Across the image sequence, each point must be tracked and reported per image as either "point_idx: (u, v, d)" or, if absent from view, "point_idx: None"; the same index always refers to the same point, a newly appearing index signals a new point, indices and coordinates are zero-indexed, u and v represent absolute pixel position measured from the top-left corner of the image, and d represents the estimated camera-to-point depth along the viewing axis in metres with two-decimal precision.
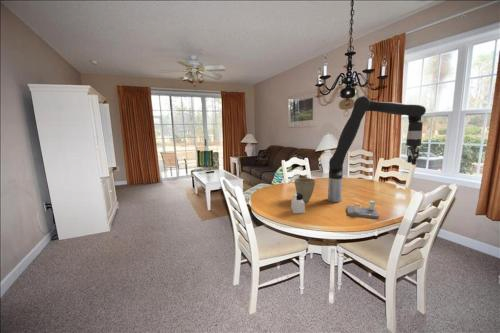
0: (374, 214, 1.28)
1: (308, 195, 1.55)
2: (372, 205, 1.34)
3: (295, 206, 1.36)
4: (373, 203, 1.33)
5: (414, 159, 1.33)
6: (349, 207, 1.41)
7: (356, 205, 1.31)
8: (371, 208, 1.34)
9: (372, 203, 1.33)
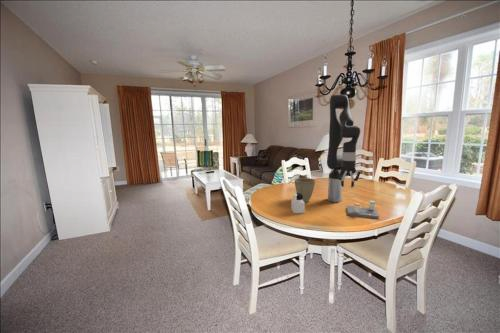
0: (374, 214, 1.28)
1: (308, 195, 1.55)
2: (372, 205, 1.34)
3: (295, 206, 1.36)
4: (373, 203, 1.33)
5: None
6: (349, 207, 1.41)
7: (356, 205, 1.31)
8: (371, 208, 1.34)
9: (372, 203, 1.33)
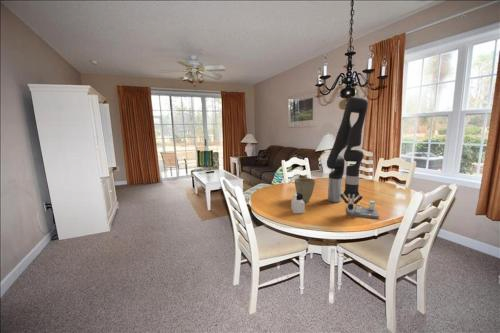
0: (374, 214, 1.28)
1: (308, 195, 1.55)
2: (372, 205, 1.34)
3: (295, 206, 1.36)
4: (373, 203, 1.33)
5: None
6: None
7: (357, 205, 1.30)
8: (371, 208, 1.34)
9: (372, 203, 1.33)
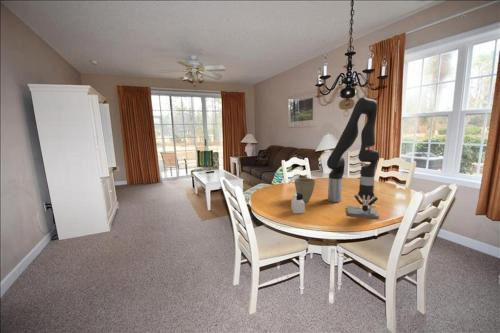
0: (374, 214, 1.28)
1: (308, 195, 1.55)
2: None
3: (295, 206, 1.36)
4: (373, 203, 1.33)
5: (367, 206, 1.29)
6: (349, 207, 1.41)
7: (372, 207, 1.27)
8: None
9: None
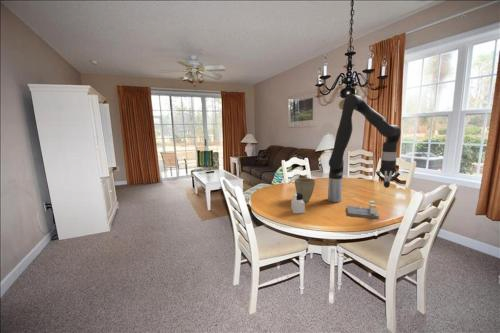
0: (374, 214, 1.28)
1: (308, 195, 1.55)
2: None
3: (295, 206, 1.36)
4: (373, 203, 1.33)
5: (389, 182, 1.29)
6: (349, 207, 1.41)
7: (372, 207, 1.27)
8: None
9: (372, 203, 1.33)
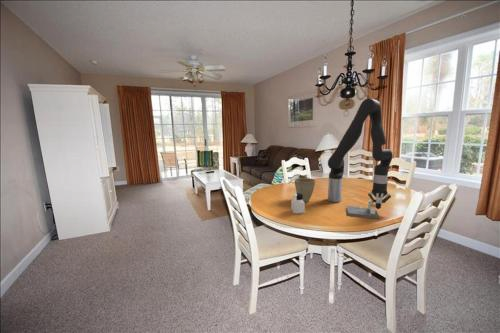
0: (374, 214, 1.28)
1: (308, 195, 1.55)
2: None
3: (295, 206, 1.36)
4: (372, 203, 1.33)
5: None
6: (349, 207, 1.41)
7: (372, 207, 1.27)
8: None
9: (371, 203, 1.34)
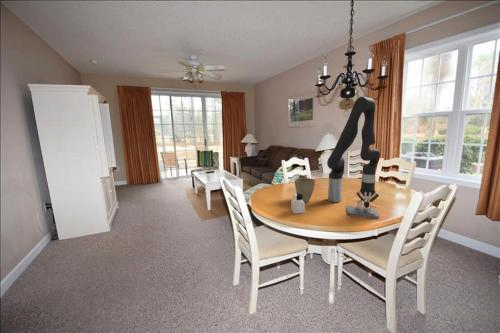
0: (374, 214, 1.28)
1: (308, 195, 1.55)
2: (359, 204, 1.36)
3: (295, 206, 1.36)
4: (360, 202, 1.36)
5: (369, 202, 1.35)
6: (349, 207, 1.41)
7: (372, 207, 1.27)
8: (358, 207, 1.37)
9: (359, 202, 1.36)
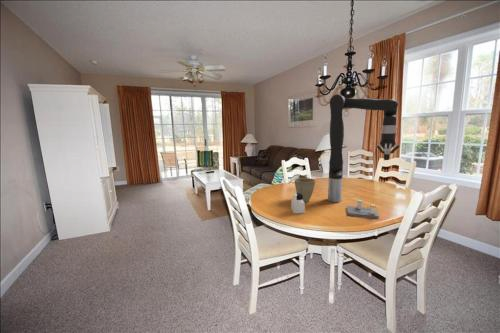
0: (374, 214, 1.28)
1: (308, 195, 1.55)
2: (359, 204, 1.36)
3: (295, 206, 1.36)
4: (360, 202, 1.36)
5: (389, 154, 1.37)
6: (349, 207, 1.41)
7: (372, 207, 1.27)
8: (358, 207, 1.37)
9: (359, 202, 1.36)
